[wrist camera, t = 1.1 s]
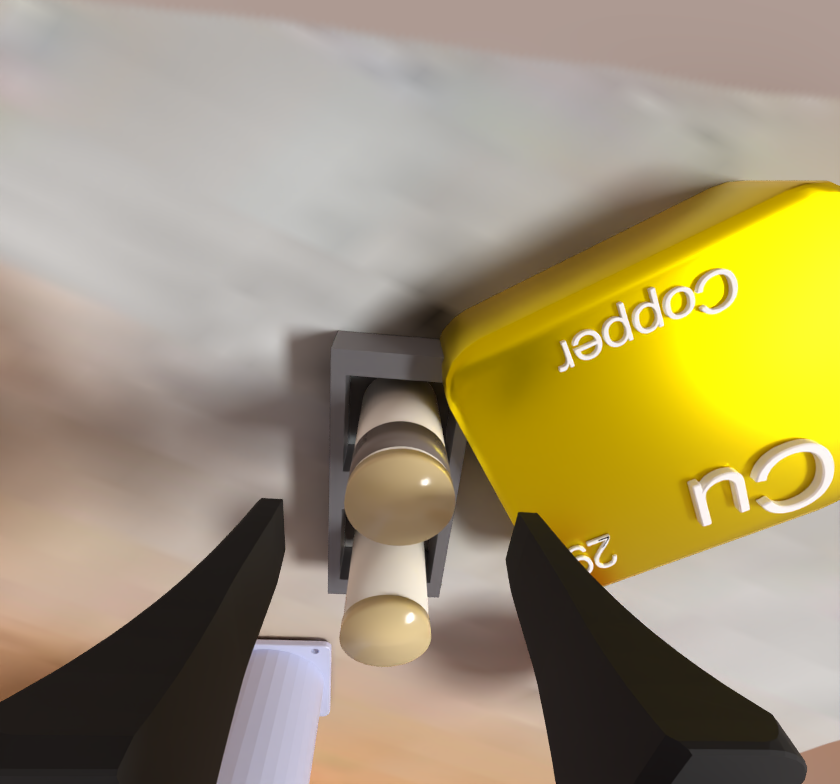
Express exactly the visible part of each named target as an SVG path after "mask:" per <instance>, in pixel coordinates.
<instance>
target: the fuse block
mask: <svg viewBox="0 0 840 784" xmlns="http://www.w3.org/2000/svg"><path fill="white" fill-rule="evenodd" d="M443 359H444V355H443V351H442V347H441V343H440V339H429V338H418V337H406V336H394V335H383V334H371V333H359V332H347V331H338V333H337V335H336V337H335V340H334V342H333V345H332V347H331V382H330V464H329V545H328V594H347V586H348V579H349V571H350V563H351V556H352V548H348V547H345V520H346V512H345V508H344V500H345V493H346V487H347V483H348V479H349V473H350V467H351V461H352V455H353V452H354V448H355V445H348V434H349V405H350V377H351V376H363V377H376V378H389V379H402V380H415V381H428V382H441V383H443V382H442V362H443ZM466 443H467V439H466V438H465V436H464V434H463V432H462V430H461V428H460V427H459V425H458V423H457V421H456V419H455V417H454V416H453V414H452V412H451V410H450V409H449V415H448V422H447V429H446V435H445V442H444V444H445V449H446V452H447V457H448V462H449V468H450V474H451V479H452V483H453V488H454V493H455V504H456V499H457V493H458V488H459V482H460V476H461V471H462V465H463V460H464V454H465V449H466ZM454 510H455V509H454ZM453 516H454V513H453ZM453 516H452V518H451V520H450V521H449V523H448V524H447V525H446V527H445V528H444V529H443V530H442V531H441V532H439V533H438V534H437V535H435V536H434V537H432V538H430V540H429V547H428V551H424V553H425V568H426V583H427V597H439V594H440V588H441V582H442V577H443V571H444V566H445V560H446V555H447V549H448V543H449V538H450V532H451V527H452V521H453Z"/></svg>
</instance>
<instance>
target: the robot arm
mask: <svg viewBox="0 0 840 784" xmlns="http://www.w3.org/2000/svg"><path fill="white" fill-rule="evenodd" d="M284 553H285V535H284V515H283V499H268V498H261V499H260V500H259V501H258V502H257V503H256V504H255V505H254V507H253V508H252V509H251V510H250V511H249V512H248V513H247V515H246V516H245V517H244V518H243V519H242V520H241V521H240V522H239V524H238V525H237V526H236V527H235V528H234V529H233V530H232V531H231V532H230V533H229V534H228V535H227V536H226V537H225V539H224V540H223V541H222V542H221V543H220V544H219V545H218V546H217V547H216V548H215V549H214V550H213V551H212V552H211V553H210V554H209V555H208V556H207V557H206V558H205V559H204V560H203V561H202V562H200V563H199V564H198V565H197V566H196V567H195V568H194V569H193V570H192V571H191V572H190V573H189V574H188V575H187V576H186V577H184V578H183V579H182V580H181V581H180V582H179V583H178V584H176V585H175V586H174V587H173V588H172V589H171V590H169V591H168V592H167V593H166V594H165V595H163V596H162V597H161V598H160V599H158V600H157V601H156V602H155V603H154V604H152V605H151V606H150V607H148V608H147V609H146V610H144V611H143V612H142V613H140V614H139V615H138V616H137V617H135V618H134V619H133V620H131V621H130V622H129V623H127V624H126V625H124V626H123V627H122V628H120V629H119V630H118V631H116V632H115V633H113V634H112V635H110V636H109V637H107V638H106V639H104V640H103V641H101V642H100V643H98V644H97V645H95V646H94V647H92V648H91V649H89V650H88V651H86V652H85V653H83V654H82V655H80V656H79V657H77V658H75V659H74V660H72V661H71V662H69V663H68V664H66V665H64V666H63V667H61V668H59V669H58V670H56V671H54V672H53V673H51V674H49V675H47V676H46V677H44V678H42V679H40V680H39V681H37V682H35V683H33V684H32V685H30V686H28V687H26V688H25V689H23V690H21V691H19V692H18V693H16V694H14V695H12V696H11V697H9V698H7V699H5V700H3V701H1V702H0V784H309V781H310V774H311V767H312V761H313V754H314V747H315V741H316V734H317V728H318V721H319V716H326V715H328V714H329V713H330V698H331V644H330V643H329V642H327V641H303V640H264V639H257V638H258V635H259V632H260V629H261V627H262V624H263V621H264V618H265V616H266V613H267V610H268V607H269V605H270V602H271V599H272V596H273V594H274V591H275V588H276V585H277V582H278V578H279V574H280V570H281V566H282V561H283V557H284ZM506 565H507V571H508V578H509V583H510V589H511V593H512V597H513V600H514V604H515V607H516V611H517V614H518V618H519V621H520V624H521V628H522V631H523V634H524V638H525V641H526V644H527V648H528V651H529V654H530V658H531V661H532V665H533V668H534V672H535V676H536V680H537V684H538V689H539V694H540V699H541V704H542V709H543V714H544V719H545V724H546V730H547V735H548V740H549V746H550V751H551V757H552V763H553V769H554V775H555V781H556V784H802V783H803V781H804V780H805V776H806V772H807V766H806V763H805V761H804V759H803V758H802V756H801V755H800V753H799V752H798V750H797V749H796V748H795V746H794V745H793V743H792V742H791V740H790V739H789V737H788V736H787V735H786V733H785V732H784V730H783V729H782V727H781V726H780V725H779V723H778V722H777V720H776V719H775V718H774V716H773V715H772V714H771V713H769V712H767V711H766V710H764V709H763V708H761V707H759V706H758V705H756V704H755V703H753V702H751V701H750V700H748V699H746V698H745V697H743V696H742V695H740V694H738V693H737V692H735V691H734V690H732V689H730V688H729V687H727V686H726V685H724V684H723V683H721V682H720V681H718V680H717V679H715V678H714V677H712V676H711V675H710V674H708V673H707V672H705V671H704V670H702V669H701V668H699V667H698V666H697V665H695V664H694V663H692V662H691V661H690V660H688V659H687V658H686V657H684V656H683V655H682V654H680V653H679V652H677V651H676V650H675V649H674V648H672V647H671V646H670V645H669V644H667V643H666V642H665V641H663V640H662V639H661V638H660V637H658V636H657V635H656V634H655V633H653V632H652V631H651V630H650V629H648V628H647V627H646V626H645V625H644V624H643V623H641V622H640V621H639V620H638V619H637V618H636V617H635V616H633V615H632V614H631V613H630V612H629V611H628V610H627V609H626V608H624V607H623V606H622V605H621V604H620V603H619V602H618V601H617V600H616V599H615V598H614V597H613V596H612V595H611V594H610V593H609V592H608V591H607V590H606V589H605V588H604V587H603V586H602V585H601V584H600V583H599V582H598V581H597V580H596V579H595V578H594V577H593V576H592V575H591V574H590V573H589V572H588V571H587V570H586V569H585V568H584V566H583V565H582V564H581V563H580V562H579V561H578V560H577V559H576V558H575V557H574V555H573V554H572V553H571V552H570V551H569V550H568V549H567V547H566V546H565V545H564V544H563V543H562V542H561V540H560V539H559V538H558V537H557V536H556V534H555V533H554V532H553V531H552V530H551V528H550V527H549V526H548V525H547V524H546V522H545V521H544V520H543V519H542V518H541V517H540V515H539V514H538V513H530V512H518V515H517V518H516V522H515V526H514V530H513V533H512V537H511V541H510V545H509V548H508V552H507V556H506Z"/></svg>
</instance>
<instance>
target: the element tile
mask: <svg viewBox="0 0 840 784" xmlns="http://www.w3.org/2000/svg"><path fill="white" fill-rule="evenodd" d="M440 343H441V347H442V351H443V355H444V359H443V362H442V382H443V387H444V391H445V396H446V399H447V402H448V405H449V408H450V410H451V412H452V414H453V416H454V417H455V419H456V421H457V423H458V425H459V427H460V428H461V430H462V432H463V434H464V436H465V438H466V439H467V441H468V443H469V445H470V447H471V449H472V450H473V452H474V454H475V456H476V458H477V460H478V461H479V463H480V465H481V467H482V469H483V470H484V472H485V474H486V476H487V478H488V480H489V481H490V483H491V485H492V487H493V489H494V491H495V492H496V494H497V496H498V498H499V500H500V502H501V503H502V505H503V507H504V509H505V511H506V513H507V514H508V516H509V518H510V520H511V522H512V524H513V525H514V526H515V522H516V518H517V515H518V512H530V513H538V514H539V515H540V517H541V518H542V519H543V520H544V521H545V522H546V524H547V525H548V526H549V527H550V528H551V530H552V531H553V532H554V533H555V534H556V536H557V537H558V538H559V539H560V540H561V542H562V543H563V544H564V545H565V546H566V547H567V549H568V550H569V551H570V552H571V553H572V554H573V555H574V557H575V558H576V559H577V560H578V561H579V562H580V563H581V564H582V565H583V566H584V568H585V569H586V570H587V571H588V572H589V573H590V574H591V575H592V576H593V577H594V578H595V579H596V580H597V581H598V582H599V583H600V584H601V585H602V586H603V587H604V586H607V585H610V584H612V583H615V582H618V581H621V580H624V579H626V578H629V577H632V576H635V575H638V574H640V573H643V572H646V571H649V570H652V569H654V568H657V567H660V566H663V565H666V564H668V563H671V562H674V561H677V560H680V559H682V558H685V557H688V556H691V555H694V554H697V553H699V552H702V551H705V550H708V549H711V548H713V547H716V546H719V545H722V544H725V543H727V542H730V541H733V540H736V539H739V538H741V537H744V536H747V535H750V534H753V533H755V532H758V531H761V530H764V529H767V528H769V527H772V526H775V525H778V524H781V523H783V522H786V521H789V520H792V519H795V518H797V517H800V516H803V515H806V514H809V513H811V512H814V511H817V510H819V509H822V508H824V507H826V506H828V505H830V504H833V503H835V502H837V501H838V500H840V186H838V185H836V184H834V183H832V182H829V181H735V182H726V183H723V184H720V185H717V186H715V187H712V188H709V189H707V190H705V191H703V192H701V193H699V194H697V195H695V196H693V197H691V198H689V199H687V200H685V201H683V202H681V203H679V204H677V205H675V206H673V207H671V208H669V209H667V210H665V211H663V212H661V213H659V214H657V215H655V216H653V217H651V218H649V219H647V220H645V221H643V222H641V223H639V224H637V225H635V226H633V227H631V228H629V229H627V230H625V231H623V232H621V233H619V234H617V235H615V236H613V237H611V238H609V239H607V240H605V241H603V242H601V243H599V244H597V245H595V246H593V247H591V248H589V249H587V250H585V251H583V252H581V253H579V254H577V255H575V256H573V257H571V258H569V259H567V260H565V261H563V262H561V263H559V264H557V265H555V266H553V267H551V268H549V269H547V270H545V271H543V272H541V273H539V274H537V275H535V276H533V277H531V278H529V279H527V280H525V281H523V282H521V283H519V284H517V285H515V286H513V287H511V288H509V289H507V290H505V291H503V292H501V293H499V294H497V295H495V296H493V297H491V298H489V299H487V300H485V301H483V302H481V303H479V304H477V305H475V306H473V307H471V308H469V309H466V310H465V311H463V312H462V313H460V314H459V315H458V316H456V317H455V318H454V319H453V320H452V321H451V322H450V323H449V324H448V325H447V326H446V328H445V329H444V330H443V331H442V334H441V337H440Z"/></svg>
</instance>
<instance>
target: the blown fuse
mask: <svg viewBox="0 0 840 784" xmlns="http://www.w3.org/2000/svg"><path fill="white" fill-rule="evenodd" d="M344 508H345V512H346V515H347V518H348V520H349V521H350V523H351V525H352V526H353V527H354V528H355V529H356V530H357V531H358V532H359V533H360V534H362V535H363V536H365V537H366V538H368V539H370V540H372V541H375V542H378V543H381V544H386V545H393V546H405V545H412V544H417V543H420V542H423V541H426V540H428V539H430V538H432V537H434V536H435V535H437V534H438V533H439V532H441V531H442V530H443V529H444V528H445V527H446V525H447V524H448V523H449V521H450V520H451V518H452V516H453V513H454V509H455V493H454V488H453V483H452V479H451V474H450V468H449V462H448V457H447V452H446V449H445V444H444V438H443V432H442V426H441V420H440V414H439V408H438V402H437V397H436V394H435V392H434V390H433V388H432V387H431V385H430V384H429V383H428V382H427V381H415V380H402V379H389V378H377V379H375V380H374V381H373V382H372V383H371V384H370V385H369V386H368V388H367V389H366V391H365V393H364V396H363V401H362V407H361V413H360V419H359V425H358V431H357V437H356V442H355V448H354V452H353V455H352V461H351V467H350V473H349V479H348V483H347V487H346V493H345V500H344Z"/></svg>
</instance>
